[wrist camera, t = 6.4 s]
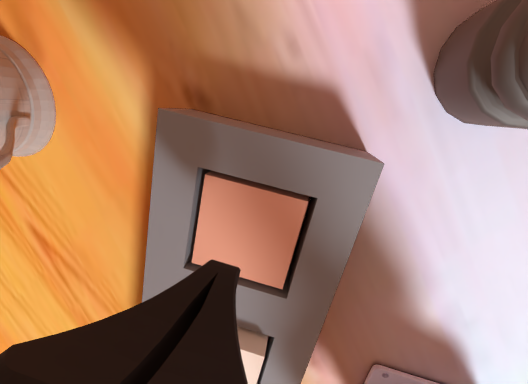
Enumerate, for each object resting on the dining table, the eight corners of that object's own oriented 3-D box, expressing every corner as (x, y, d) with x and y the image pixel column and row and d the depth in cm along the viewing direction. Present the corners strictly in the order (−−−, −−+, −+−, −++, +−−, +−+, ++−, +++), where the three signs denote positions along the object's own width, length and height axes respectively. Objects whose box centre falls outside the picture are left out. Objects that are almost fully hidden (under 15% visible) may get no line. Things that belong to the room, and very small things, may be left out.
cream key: (271, 320, 19) (264, 357, 16) (254, 377, 21) (245, 419, 18) (193, 296, 19) (173, 327, 17) (183, 354, 21) (164, 391, 19)
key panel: (367, 151, 17) (384, 163, 13) (284, 387, 24) (279, 439, 20) (190, 108, 18) (158, 108, 14) (161, 346, 25) (134, 389, 21)
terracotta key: (308, 186, 17) (308, 201, 14) (286, 263, 19) (282, 289, 16) (221, 164, 18) (204, 174, 15) (208, 240, 20) (191, 262, 17)
